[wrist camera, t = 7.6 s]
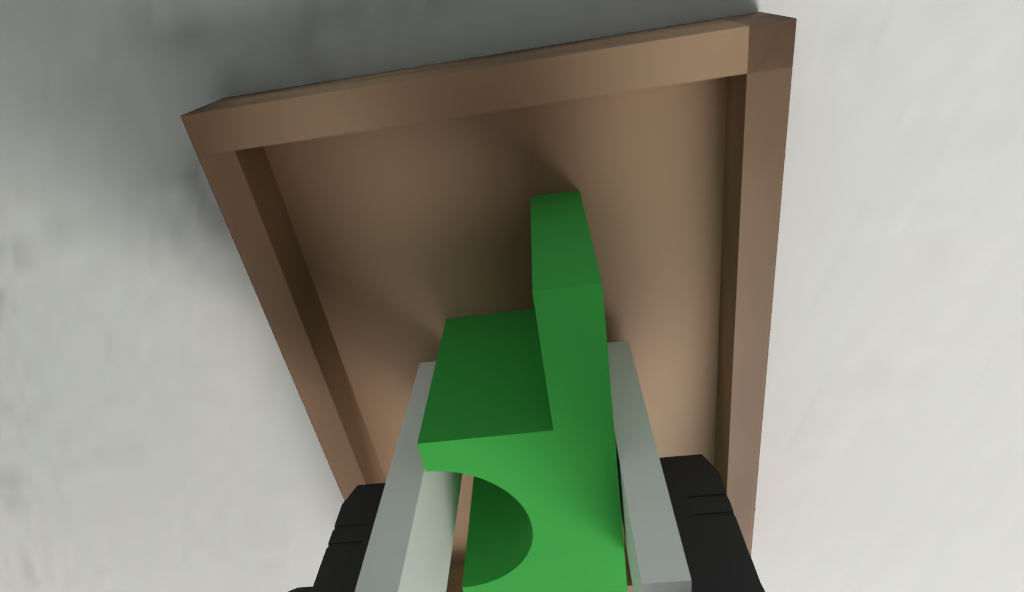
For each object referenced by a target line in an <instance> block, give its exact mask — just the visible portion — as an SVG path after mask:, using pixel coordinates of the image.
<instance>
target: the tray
mask: <svg viewBox="0 0 1024 592" xmlns="http://www.w3.org/2000/svg"><path fill="white" fill-rule="evenodd" d="M795 30H796V18H791V17H786V16H780V15H774V14H769V13H763V12H758V13H752V14H745V15H739V16H733V17H727V18H721V19H714V20H708V21H702V22H696V23H689V24H683V25H677V26H671V27H664V28H658V29H652V30H646V31H639V32H633V33H627V34H621V35H615V36H608V37H602V38H596V39H590V40H583V41H577V42H571V43H565V44H558V45H552V46H546V47H540V48H533V49H527V50H521V51H515V52H509V53H502V54H496V55H490V56H484V57H477V58H471V59H465V60H459V61H452V62H446V63H440V64H434V65H428V66H421V67H415V68H409V69H403V70H396V71H390V72H384V73H378V74H371V75H365V76H359V77H353V78H346V79H340V80H334V81H328V82H322V83H315V84H309V85H303V86H297V87H290V88H284V89H278V90H272V91H265V92H259V93H253V94H247V95H240V96H234V97H228V98H223V99H221V100H218V101H216V102H213V103H211V104H208V105H206V106H204V107H201V108H199V109H196V110H194V111H191V112H189V113H187V114H184V115H182V116H181V118H182V121H183V123H184V125H185V128H186V130H187V132H188V135H189V137H190V139H191V142H192V144H193V147H194V149H195V151H196V154H197V156H198V158H199V161H200V163H201V165H202V168H203V170H204V172H205V175H206V177H207V179H208V182H209V184H210V186H211V189H212V191H213V193H214V196H215V198H216V200H217V203H218V205H219V207H220V210H221V212H222V214H223V217H224V219H225V221H226V224H227V226H228V228H229V231H230V233H231V236H232V238H233V240H234V243H235V245H236V247H237V250H238V252H239V254H240V257H241V259H242V261H243V264H244V266H245V268H246V271H247V273H248V275H249V278H250V280H251V282H252V285H253V287H254V289H255V292H256V294H257V296H258V299H259V301H260V303H261V306H262V308H263V310H264V313H265V315H266V317H267V320H268V322H269V325H270V327H271V329H272V332H273V334H274V336H275V339H276V341H277V343H278V346H279V348H280V350H281V353H282V355H283V357H284V360H285V362H286V364H287V367H288V369H289V371H290V374H291V376H292V378H293V381H294V383H295V385H296V388H297V390H298V392H299V395H300V397H301V399H302V402H303V404H304V406H305V409H306V411H307V414H308V416H309V418H310V421H311V423H312V425H313V428H314V430H315V432H316V435H317V437H318V439H319V442H320V444H321V446H322V449H323V451H324V453H325V456H326V458H327V460H328V463H329V465H330V467H331V470H332V472H333V474H334V477H335V479H336V481H337V484H338V486H339V488H340V491H341V493H342V495H343V498H344V500H346V499H347V498H348V497H349V495H350V494H351V493H352V492H353V490H354V489H355V488H356V487H357V485H364V484H376V483H386V480H387V477H388V473H389V469H390V466H391V462H392V459H393V455H394V452H395V448H396V445H397V441H398V438H399V434H400V431H401V427H402V424H403V420H404V417H405V413H406V410H407V406H408V403H409V399H410V396H411V392H412V389H413V385H414V382H415V378H416V375H417V371H418V368H419V364H420V363H423V362H433V361H436V360H437V356H438V351H439V347H440V343H441V338H442V334H443V330H444V325H445V321H446V319H453V318H461V317H470V316H478V315H487V314H495V313H504V312H512V311H521V310H529V309H535V306H534V299H533V293H532V245H531V197H532V196H540V195H547V194H555V193H562V192H570V191H577V190H579V191H580V195H581V199H582V203H583V207H584V211H585V215H586V219H587V223H588V227H589V232H590V236H591V240H592V244H593V248H594V252H595V256H596V260H597V264H598V268H599V272H600V276H601V281H602V287H603V299H604V311H605V323H606V335H607V343H610V342H619V341H629V345H630V349H631V352H632V356H633V360H634V364H635V368H636V371H637V375H638V379H639V383H640V387H641V390H642V394H643V398H644V402H645V406H646V409H647V413H648V417H649V421H650V425H651V428H652V432H653V436H654V440H655V444H656V447H657V451H658V455H659V458H661V457H673V456H684V455H696V454H702V455H703V456H704V457H705V458H706V459H707V460H708V461H709V462H710V463H711V464H712V465H713V466H714V467H715V468H716V469H717V470H718V472H719V474H720V476H721V479H722V482H723V484H724V487H725V490H726V492H727V497H728V498H729V500H730V503H731V506H732V508H733V511H734V516H736V519H737V522H738V524H739V527H740V530H741V532H742V535H743V538H744V540H745V543H746V546H747V548H748V551H749V554H750V556H751V549H752V537H753V526H754V514H755V502H756V490H757V478H758V467H759V455H760V443H761V431H762V419H763V408H764V396H765V384H766V372H767V360H768V349H769V337H770V325H771V313H772V301H773V290H774V278H775V266H776V254H777V242H778V231H779V219H780V207H781V195H782V183H783V172H784V160H785V148H786V136H787V124H788V113H789V101H790V89H791V77H792V66H793V54H794V42H795ZM473 478H474V476H471V475H467V474H462V480H461V487H460V495H459V502H458V509H457V517H456V524H455V531H454V539H453V546H452V553H451V560H450V568H449V575H448V582H447V590H446V592H463V589H462V584H463V574H464V565H465V555H466V546H467V536H468V526H469V517H470V507H471V498H472V488H473ZM622 529H623V524H622ZM623 541H624V553H625V565H626V578H627V590H628V592H634V591H633V585H632V579H631V573H630V567H629V561H628V555H627V549H626V543H625V537H624V530H623Z"/></svg>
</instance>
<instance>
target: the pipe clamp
mask: <svg viewBox="0 0 1024 592" xmlns="http://www.w3.org/2000/svg"><path fill="white" fill-rule="evenodd" d="M531 245H532V293H533V299H534V306H535V309H529V310H521V311H512V312H504V313H495V314H487V315H478V316H470V317H461V318H453V319H446V321H445V325H444V330H443V334H442V338H441V343H440V347H439V351H438V356H437V360H436V364H435V369H434V373H433V377H432V382H431V386H430V390H429V395H428V399H427V403H426V407H425V412H424V416H423V420H422V425H421V429H420V433H419V438H418V442H417V445H418V448H419V451H420V455H421V458H422V461H423V464H424V467H425V471H426V472H428V471H448V472H457V473H462V474H467V475H471V476H474V478H473V488H472V498H471V507H470V517H469V526H468V536H467V546H466V555H465V565H464V574H463V584H462V589H463V592H628V590H627V578H626V565H625V553H624V541H623V529H622V517H621V505H620V493H619V481H618V469H617V456H616V444H615V432H614V420H613V408H612V396H611V384H610V372H609V360H608V347H607V335H606V323H605V311H604V299H603V287H602V281H601V276H600V272H599V268H598V264H597V260H596V256H595V252H594V248H593V244H592V240H591V236H590V232H589V227H588V223H587V219H586V215H585V211H584V207H583V203H582V199H581V195H580V191H579V190H577V191H570V192H562V193H555V194H547V195H540V196H532V197H531Z"/></svg>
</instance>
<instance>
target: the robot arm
mask: <svg viewBox="0 0 1024 592" xmlns="http://www.w3.org/2000/svg"><path fill="white" fill-rule="evenodd" d="M607 347H608V360H609V372H610V384H611V396H612V408H613V420H614V432H615V444H616V456H617V469H618V481H619V493H620V505H621V517H622V524H623V530H624V537H625V543H626V549H627V555H628V561H629V567H630V573H631V579H632V585H633V591H634V592H765V591H764V589H763V587H762V585H761V583H760V580H759V578H758V575H757V572H756V570H755V567H754V564H753V562H752V559H751V556H750V554H749V551H748V548H747V546H746V543H745V540H744V538H743V535H742V532H741V530H740V527H739V524H738V522H737V519H736V516H734V511H733V508H732V506H731V503H730V500H729V498H728V497H727V492H726V490H725V487H724V484H723V482H722V479H721V476H720V474H719V472H718V470H717V469H716V468H715V467H714V466H713V465H712V464H711V463H710V462H709V461H708V460H707V459H706V458H705V457H704V456H703V455H702V454H696V455H684V456H673V457H661V458H659V455H658V451H657V447H656V444H655V440H654V436H653V432H652V428H651V425H650V421H649V417H648V413H647V409H646V406H645V402H644V398H643V394H642V390H641V387H640V383H639V379H638V375H637V371H636V368H635V364H634V360H633V356H632V352H631V349H630V345H629V341H619V342H610V343H607ZM435 364H436V361H433V362H423V363H420V364H419V368H418V371H417V375H416V378H415V382H414V385H413V389H412V392H411V396H410V399H409V403H408V406H407V410H406V413H405V417H404V420H403V424H402V427H401V431H400V434H399V438H398V441H397V445H396V448H395V452H394V455H393V459H392V462H391V466H390V469H389V473H388V477H387V480H386V483H376V484H364V485H357V487H356V488H355V489H354V490H353V492H352V493H351V494H350V495H349V497H348V498H347V499H346V500H345V502H344V503H343V504H342V506H341V509H340V512H339V515H338V518H337V521H336V523H335V530H333V532H332V535H331V537H330V540H329V543H328V544H329V547H328V548H327V549H326V552H325V554H324V557H323V560H322V563H321V566H320V568H319V571H318V574H317V577H316V580H315V583H314V585H313V587H300V588H296V589H293V590H291V591H289V592H446V590H447V582H448V575H449V568H450V560H451V553H452V546H453V539H454V531H455V524H456V517H457V509H458V502H459V495H460V487H461V480H462V473H457V472H448V471H428V472H426V471H425V467H424V464H423V461H422V458H421V455H420V451H419V448H418V445H417V442H418V438H419V433H420V429H421V425H422V420H423V416H424V412H425V407H426V403H427V399H428V395H429V390H430V386H431V382H432V377H433V373H434V369H435Z"/></svg>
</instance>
